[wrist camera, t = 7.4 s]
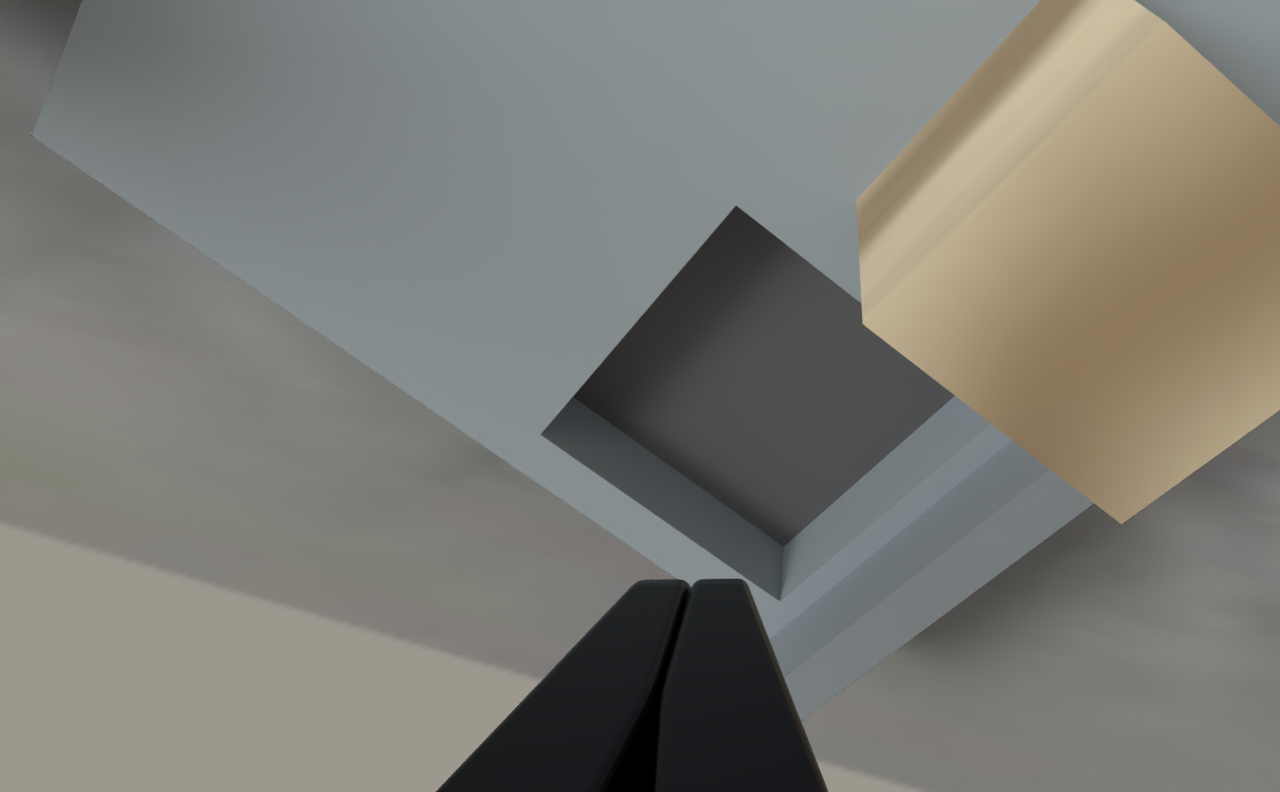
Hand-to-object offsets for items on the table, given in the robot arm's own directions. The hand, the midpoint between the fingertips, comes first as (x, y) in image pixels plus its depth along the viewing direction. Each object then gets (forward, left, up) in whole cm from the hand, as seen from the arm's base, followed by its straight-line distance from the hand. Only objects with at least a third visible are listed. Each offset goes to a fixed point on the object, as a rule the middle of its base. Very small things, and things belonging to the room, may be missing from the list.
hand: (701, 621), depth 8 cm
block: (+3, +3, -10) cm, 11 cm away
